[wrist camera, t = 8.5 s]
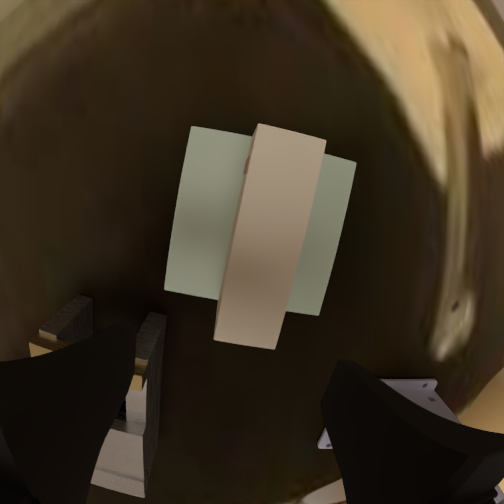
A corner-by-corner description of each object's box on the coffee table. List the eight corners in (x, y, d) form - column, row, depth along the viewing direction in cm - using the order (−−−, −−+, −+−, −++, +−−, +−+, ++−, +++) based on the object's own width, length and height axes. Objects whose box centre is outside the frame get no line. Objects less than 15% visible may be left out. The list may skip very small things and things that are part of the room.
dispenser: (167, 315, 20) (142, 373, 14) (158, 438, 23) (144, 498, 16) (78, 294, 20) (28, 339, 13) (88, 419, 22) (62, 472, 16)
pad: (352, 162, 19) (356, 162, 18) (316, 311, 21) (318, 315, 20) (192, 127, 18) (191, 126, 17) (166, 286, 20) (164, 289, 19)
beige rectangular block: (303, 149, 18) (327, 140, 13) (266, 309, 20) (275, 349, 15) (250, 137, 17) (257, 123, 12) (217, 300, 20) (212, 339, 15)
